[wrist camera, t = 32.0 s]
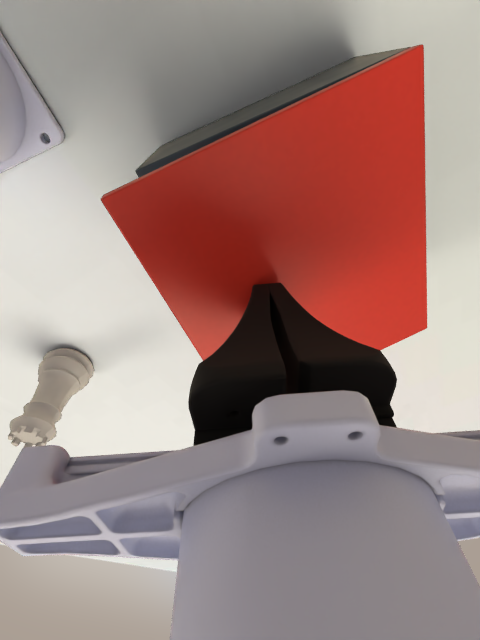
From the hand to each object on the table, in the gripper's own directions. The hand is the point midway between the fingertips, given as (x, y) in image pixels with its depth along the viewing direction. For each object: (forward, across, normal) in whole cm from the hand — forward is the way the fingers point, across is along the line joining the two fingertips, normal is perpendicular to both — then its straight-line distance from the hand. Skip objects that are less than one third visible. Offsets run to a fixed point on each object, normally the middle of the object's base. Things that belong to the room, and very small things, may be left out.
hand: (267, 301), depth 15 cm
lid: (+1, -2, -1) cm, 2 cm away
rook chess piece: (+9, +18, +12) cm, 23 cm away
